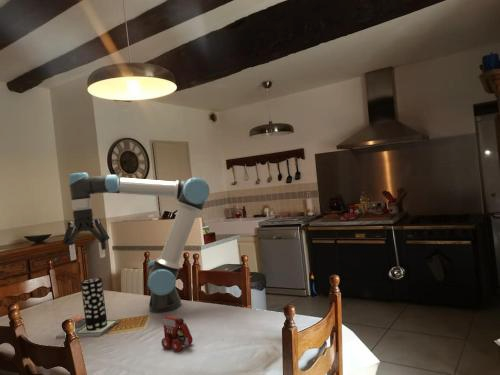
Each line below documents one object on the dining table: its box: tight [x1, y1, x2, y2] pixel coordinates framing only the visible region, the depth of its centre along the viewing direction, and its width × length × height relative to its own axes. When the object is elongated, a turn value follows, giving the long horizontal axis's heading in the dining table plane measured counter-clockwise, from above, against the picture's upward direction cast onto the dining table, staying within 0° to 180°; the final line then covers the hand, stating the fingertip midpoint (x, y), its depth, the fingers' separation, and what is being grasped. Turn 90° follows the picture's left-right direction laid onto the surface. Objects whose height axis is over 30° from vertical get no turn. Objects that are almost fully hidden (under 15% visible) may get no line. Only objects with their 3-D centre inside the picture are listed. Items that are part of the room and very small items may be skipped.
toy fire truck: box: [161, 315, 194, 353], centre depth 130 cm, size 7×12×10 cm, turn 56°
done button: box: [72, 315, 84, 323], centre depth 161 cm, size 4×4×2 cm
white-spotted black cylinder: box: [80, 277, 108, 331], centre depth 157 cm, size 8×8×20 cm
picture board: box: [55, 317, 120, 339], centre depth 157 cm, size 20×15×3 cm
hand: (88, 258), depth 156 cm, fingers open, 13 cm apart
